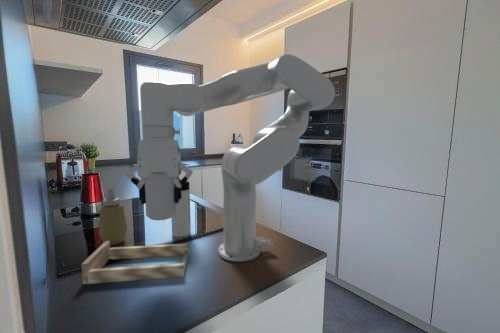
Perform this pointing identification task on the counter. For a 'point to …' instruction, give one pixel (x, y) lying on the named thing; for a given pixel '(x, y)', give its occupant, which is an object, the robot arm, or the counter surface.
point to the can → (160, 197)
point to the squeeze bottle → (112, 220)
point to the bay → (100, 257)
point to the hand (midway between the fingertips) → (161, 201)
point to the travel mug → (182, 215)
